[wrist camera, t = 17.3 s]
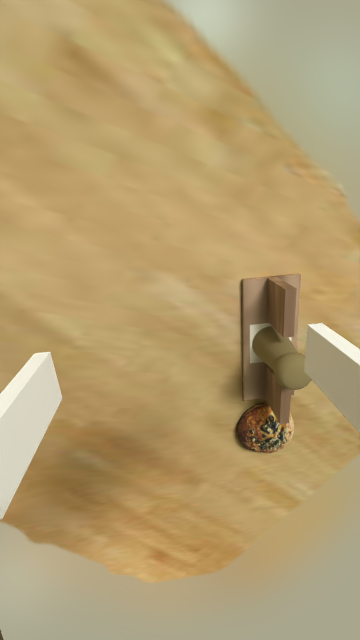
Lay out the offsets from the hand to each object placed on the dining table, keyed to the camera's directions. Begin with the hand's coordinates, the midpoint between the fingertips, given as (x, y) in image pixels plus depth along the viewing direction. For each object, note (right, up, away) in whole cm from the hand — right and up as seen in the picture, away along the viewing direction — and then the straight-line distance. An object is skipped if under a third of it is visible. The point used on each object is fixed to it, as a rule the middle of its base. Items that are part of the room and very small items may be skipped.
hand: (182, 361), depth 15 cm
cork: (+15, -2, +35) cm, 38 cm away
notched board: (+15, -1, +36) cm, 39 cm away
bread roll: (+16, -18, +42) cm, 49 cm away
